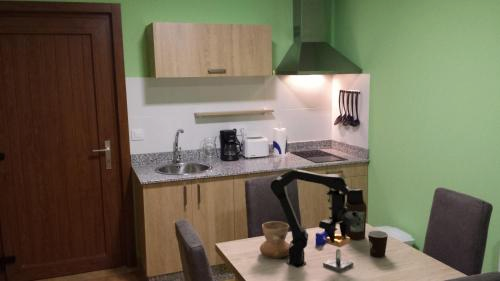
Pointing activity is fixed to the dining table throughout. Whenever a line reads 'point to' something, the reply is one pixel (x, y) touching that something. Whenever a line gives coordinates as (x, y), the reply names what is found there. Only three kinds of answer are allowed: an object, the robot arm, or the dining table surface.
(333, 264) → the post
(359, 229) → the brown bottle
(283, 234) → the ceramic jug
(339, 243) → the wooden square frame
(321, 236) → the cable clip
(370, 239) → the coffee mug
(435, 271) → the dining table surface
